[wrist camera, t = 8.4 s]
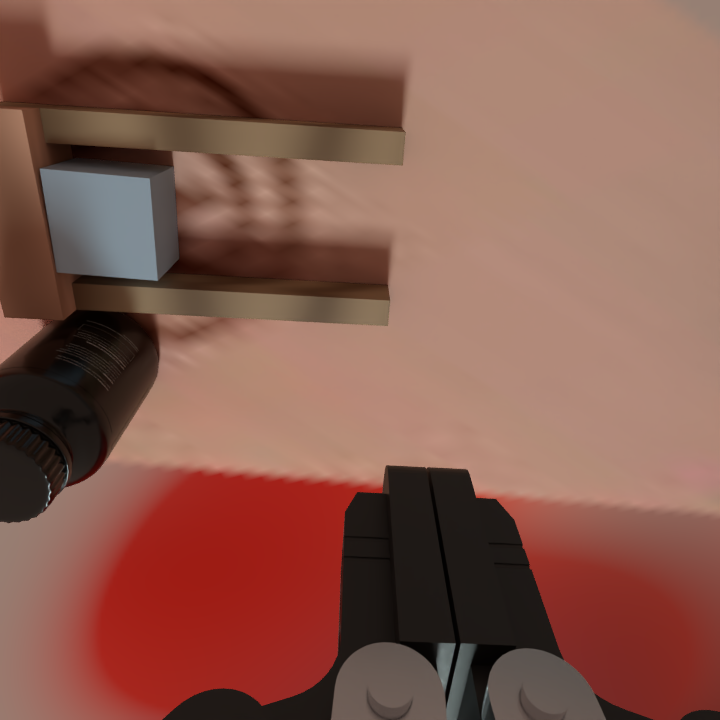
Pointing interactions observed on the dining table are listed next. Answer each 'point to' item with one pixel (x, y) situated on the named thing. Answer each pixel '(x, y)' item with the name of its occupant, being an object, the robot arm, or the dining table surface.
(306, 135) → the track
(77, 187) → the block
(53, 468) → the supplement bottle
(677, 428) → the dining table surface
